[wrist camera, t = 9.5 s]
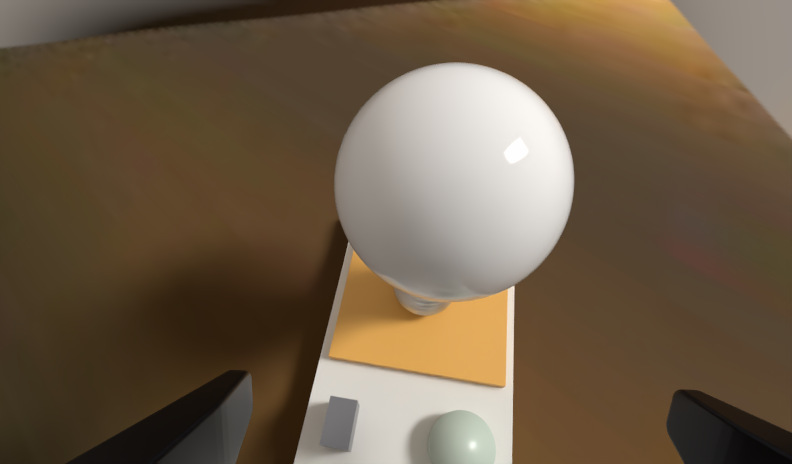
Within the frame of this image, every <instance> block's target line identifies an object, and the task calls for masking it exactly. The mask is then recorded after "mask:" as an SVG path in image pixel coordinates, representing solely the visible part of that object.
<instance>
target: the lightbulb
mask: <svg viewBox="0 0 792 464" xmlns="http://www.w3.org/2000/svg"><path fill="white" fill-rule="evenodd" d="M573 193H574V166H573V160H572V154H571V150H570V147H569V144H568V141H567V138H566V136H565V133H564V131H563V129H562V127H561V125H560V123H559V121H558V120H557V118H556V116H555V115H554V113H553V112H552V111H551V109H550V108H549V107H548V105H547V104H546V103H545V102H544V101H543V100H542V99H541V98H540V97H539V96H538V95H537V94H536V93H535V92H534V91H533V90H532V89H530V88H529V87H528V86H526V85H525V84H524V83H522V82H521V81H519V80H517V79H516V78H514V77H512V76H510V75H508V74H506V73H504V72H501V71H499V70H496V69H493V68H490V67H487V66H482V65H477V64H471V63H441V64H434V65H430V66H425V67H422V68H419V69H416V70H413V71H410V72H408V73H406V74H404V75H402V76H400V77H398V78H396V79H394V80H392V81H391V82H389V83H388V84H386V85H385V86H384V87H382V88H381V89H380V90H378V91H377V92H376V93H375V94H374V95H373V96H372V97H371V98H370V99H369V100H368V101H367V102H366V103H365V104H364V105H363V106H362V108H361V109H360V110H359V111H358V113H357V114H356V116H355V117H354V119H353V120H352V122H351V124H350V125H349V127H348V129H347V131H346V133H345V135H344V138H343V140H342V143H341V146H340V149H339V152H338V156H337V160H336V166H335V174H334V196H335V204H336V209H337V213H338V217H339V220H340V223H341V226H342V228H343V231H344V233H345V235H346V237H347V239H348V241H349V243H350V245H351V246H352V248H353V249H354V251H355V252H356V254H357V255H358V257H359V258H360V259H361V260H362V261H363V263H364V264H365V265H366V266H367V267H368V268H369V269H370V270H371V271H372V272H373V273H374V274H376V275H377V276H378V277H379V278H381V279H382V280H383V281H385V282H386V283H388V284H389V285H391V286H393V287H394V292H395V295H396V298H397V299H398V301H399V302H400V304H401V305H402V306H403V307H404V308H405V309H407V310H408V311H410V312H412V313H414V314H418V315H423V316H429V315H435V314H438V313H440V312H442V311H443V310H445V309H446V308H447V307H448V306H449V305H450V304H451V302H467V301H473V300H478V299H483V298H486V297H489V296H492V295H495V294H498V293H500V292H502V291H505V290H507V289H509V288H510V287H512V286H514V285H516V284H517V283H519V282H520V281H522V280H523V279H524V278H526V277H527V276H528V275H530V274H531V273H532V272H533V271H534V270H535V269H536V268H537V267H538V266H539V265H540V264H541V263H542V262H543V261H544V260H545V259H546V258H547V256H548V255H549V254H550V252H551V251H552V250H553V248H554V247H555V245H556V243H557V242H558V240H559V238H560V236H561V234H562V232H563V230H564V228H565V225H566V223H567V220H568V217H569V214H570V210H571V206H572V201H573Z"/></svg>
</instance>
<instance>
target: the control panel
mask: <svg viewBox="0 0 792 464" xmlns="http://www.w3.org/2000/svg"><path fill="white" fill-rule="evenodd" d="M513 345H514V286H512V287H510V288H509V289H507V290H505V291H502V292H500V293H498V294H495V295H492V296H489V297H486V298H483V299H478V300H473V301H467V302H451V304H450V305H449V306H448V307H447V308H446V309H445V310H443V311H442V312H440V313H438V314H435V315H429V316H423V315H418V314H414V313H412V312H410V311H408V310H407V309H405V308H404V307H403V306H402V305H401V304H400V302H399V301H398V299H397V298H396V295H395V292H394V287H393V286H391V285H389V284H388V283H386V282H385V281H383V280H382V279H381V278H379V277H378V276H377V275H376V274H374V273H373V272H372V271H371V270H370V269H369V268H368V267H367V266H366V265H365V264H364V263H363V261H362V260H361V259H360V258H359V257H358V255H357V254H356V252H355V251H354V249H353V248H352V246H351V245H350V243H349V242H348V246H347V250H346V254H345V258H344V262H343V266H342V270H341V274H340V279H339V283H338V287H337V291H336V295H335V299H334V303H333V307H332V311H331V315H330V319H329V323H328V327H327V331H326V335H325V339H324V343H323V347H322V351H321V355H320V359H319V363H318V367H317V371H316V376H315V380H314V384H313V388H312V392H311V396H310V400H309V404H308V408H307V412H306V416H305V420H304V424H303V428H302V432H301V436H300V440H299V444H298V448H297V452H296V456H295V460H294V464H512V418H513Z"/></svg>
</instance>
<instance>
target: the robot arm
mask: <svg viewBox="0 0 792 464" xmlns="http://www.w3.org/2000/svg"><path fill="white" fill-rule="evenodd" d="M252 407H253V401H252V380H251V374H250V372H249V371H244V370H229V371H227V372H225V373H224V374H222V375H220V376H218V377H217V378H215V379H213V380H211V381H210V382H208V383H206V384H204V385H203V386H201V387H199V388H197V389H196V390H194V391H192V392H190V393H189V394H187V395H185V396H183V397H182V398H180V399H178V400H176V401H175V402H173V403H171V404H169V405H168V406H166V407H164V408H162V409H161V410H159V411H157V412H155V413H154V414H152V415H150V416H148V417H147V418H145V419H143V420H141V421H140V422H138V423H136V424H134V425H133V426H131V427H129V428H127V429H126V430H124V431H122V432H120V433H119V434H117V435H115V436H113V437H111V438H110V439H108V440H106V441H104V442H103V443H101V444H99V445H97V446H96V447H94V448H92V449H90V450H89V451H87V452H85V453H83V454H82V455H80V456H78V457H76V458H75V459H73V460H71V461H69V462H68V463H66V464H235V463H236V460H237V457H238V454H239V451H240V448H241V445H242V442H243V439H244V436H245V433H246V430H247V427H248V424H249V421H250V418H251V414H252ZM666 427H667V431H668V434H669V437H670V438H671V440H672V442H673V444H674V446H675V448H676V449H677V451H678V453H679V455H680V457H681V459H682V460H683V462H684V464H792V433H791V432H789V431H787V430H784V429H782V428H780V427H778V426H776V425H773V424H771V423H769V422H767V421H765V420H762V419H760V418H758V417H756V416H754V415H751V414H749V413H747V412H745V411H743V410H740V409H738V408H736V407H734V406H732V405H729V404H727V403H725V402H723V401H721V400H718V399H716V398H714V397H712V396H710V395H707V394H705V393H703V392H701V391H697V390H677V391H676V392H675V393H674V395H673V398H672V402H671V406H670V410H669V414H668V418H667V422H666Z"/></svg>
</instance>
